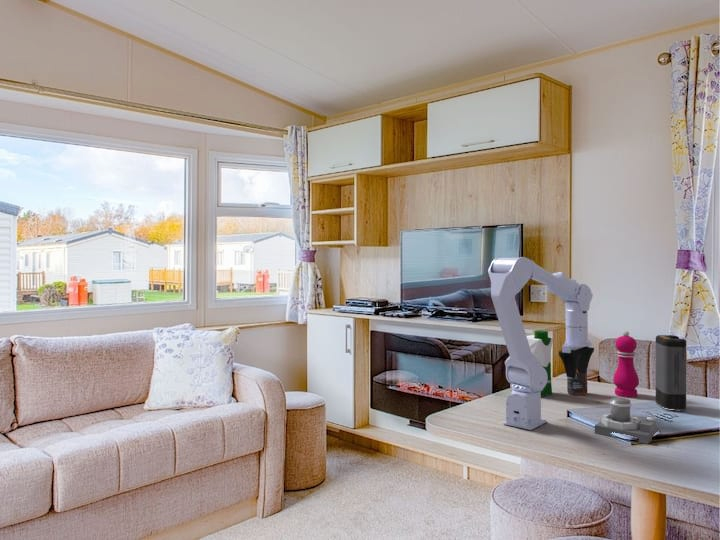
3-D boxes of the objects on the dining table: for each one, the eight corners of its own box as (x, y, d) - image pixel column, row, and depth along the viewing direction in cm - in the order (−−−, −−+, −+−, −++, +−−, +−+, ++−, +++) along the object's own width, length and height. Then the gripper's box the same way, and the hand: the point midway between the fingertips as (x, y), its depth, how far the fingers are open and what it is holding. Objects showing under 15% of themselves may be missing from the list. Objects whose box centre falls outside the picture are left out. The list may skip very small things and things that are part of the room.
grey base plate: (647, 444, 128) (647, 425, 128) (594, 433, 136) (594, 415, 136) (660, 433, 135) (660, 415, 135) (609, 423, 144) (609, 407, 144)
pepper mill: (608, 393, 174) (607, 330, 173) (624, 391, 177) (624, 328, 176) (627, 399, 167) (627, 333, 167) (644, 396, 170) (644, 331, 170)
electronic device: (688, 412, 153) (688, 340, 152) (664, 411, 154) (664, 339, 154) (676, 403, 162) (676, 335, 161) (654, 402, 163) (654, 334, 163)
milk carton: (539, 398, 169) (539, 333, 169) (515, 392, 177) (514, 330, 176) (556, 393, 175) (556, 330, 174) (532, 388, 182) (531, 328, 181)
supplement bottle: (584, 391, 177) (584, 356, 177) (590, 396, 171) (589, 359, 171) (564, 391, 178) (564, 356, 177) (570, 396, 172) (569, 359, 172)
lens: (634, 426, 135) (634, 401, 135) (618, 427, 134) (618, 403, 134) (622, 420, 140) (622, 397, 139) (606, 422, 139) (606, 398, 139)
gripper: (580, 330, 146) (580, 381, 146) (600, 324, 156) (601, 372, 157) (554, 328, 151) (554, 378, 151) (576, 323, 161) (576, 369, 162)
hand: (576, 375), depth 154 cm, fingers open, 7 cm apart
